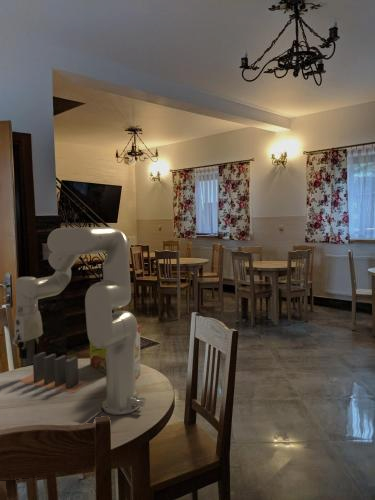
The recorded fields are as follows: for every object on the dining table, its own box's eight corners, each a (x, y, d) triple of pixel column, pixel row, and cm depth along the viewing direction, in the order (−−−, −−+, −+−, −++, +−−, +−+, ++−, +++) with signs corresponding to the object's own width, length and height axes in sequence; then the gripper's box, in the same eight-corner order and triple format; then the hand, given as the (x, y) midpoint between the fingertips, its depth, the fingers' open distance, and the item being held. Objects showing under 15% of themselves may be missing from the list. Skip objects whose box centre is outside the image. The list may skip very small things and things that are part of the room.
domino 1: (35, 362, 150) (34, 337, 149) (25, 366, 145) (24, 340, 144) (32, 361, 150) (31, 336, 150) (22, 366, 146) (21, 340, 145)
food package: (89, 367, 162) (88, 320, 160) (91, 366, 162) (90, 319, 161) (108, 377, 150) (106, 327, 149) (110, 376, 151) (109, 327, 150)
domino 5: (78, 383, 143) (77, 357, 142) (69, 389, 138) (68, 361, 137) (74, 382, 143) (74, 356, 142) (66, 388, 138) (65, 361, 138)
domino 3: (56, 379, 146) (56, 354, 146) (47, 384, 142) (46, 358, 141) (53, 379, 147) (52, 353, 146) (44, 384, 142) (43, 357, 142)
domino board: (88, 385, 143) (88, 382, 143) (73, 395, 135) (73, 392, 135) (34, 375, 153) (34, 373, 153) (17, 384, 145) (17, 381, 145)
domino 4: (67, 381, 144) (66, 355, 144) (58, 386, 140) (57, 360, 139) (64, 380, 145) (63, 355, 144) (54, 386, 140) (54, 359, 140)
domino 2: (46, 377, 148) (45, 352, 147) (37, 382, 143) (36, 356, 143) (43, 377, 149) (42, 351, 148) (33, 382, 144) (32, 356, 143)
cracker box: (129, 392, 137) (128, 335, 135) (113, 391, 138) (112, 334, 137) (141, 377, 151) (140, 324, 149) (127, 375, 152) (126, 324, 150)
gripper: (17, 315, 137) (19, 365, 138) (50, 305, 153) (52, 350, 154) (1, 313, 140) (3, 362, 141) (36, 304, 155) (37, 347, 157)
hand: (28, 355), depth 147 cm, fingers closed on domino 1, 4 cm apart
